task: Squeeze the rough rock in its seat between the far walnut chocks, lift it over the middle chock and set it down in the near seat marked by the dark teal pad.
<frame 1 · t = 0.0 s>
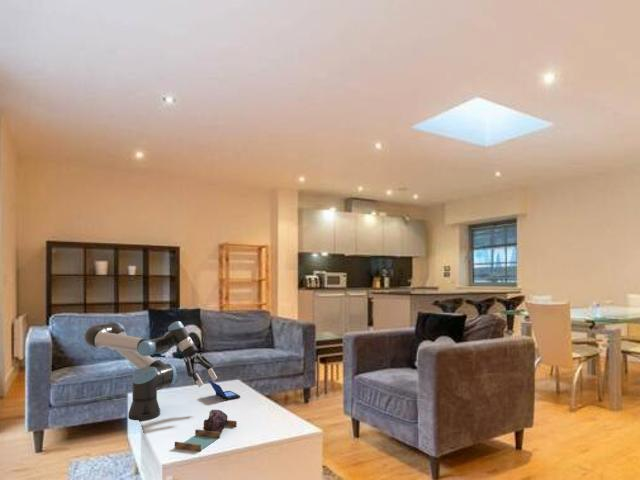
hand: (208, 382, 233), 15 cm above the table, tool tilted 35°, fingers open, 13 cm apart
marked pad: (197, 442, 191), on the table
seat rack: (207, 436, 198), on the table
rock: (216, 431, 206), on the table
handheld game console: (224, 397, 262), on the table
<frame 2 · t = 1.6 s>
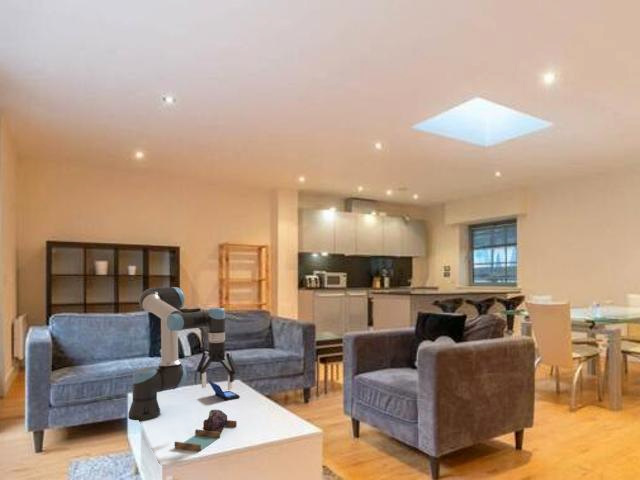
hand: (216, 388, 207), 19 cm above the table, tool pointing down, fingers open, 13 cm apart
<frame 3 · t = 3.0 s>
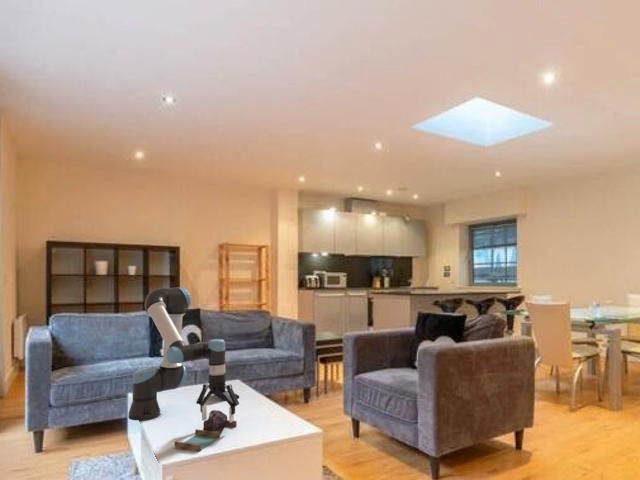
hand: (217, 421, 205), 4 cm above the table, tool pointing down, fingers open, 13 cm apart
rock: (216, 432, 205), on the table, touching gripper
everything else where it was.
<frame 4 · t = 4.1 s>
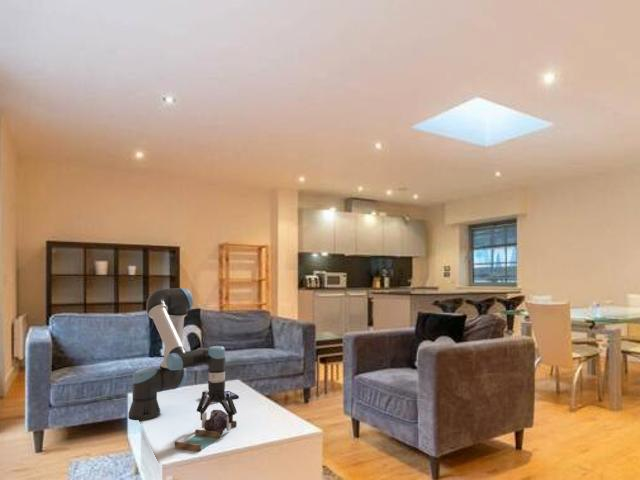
hand: (216, 428, 206), 1 cm above the table, tool pointing down, fingers closed on rock, 12 cm apart
rock: (217, 431, 205), on the table, touching gripper
everything else where it was.
when the fingers open (3 cm above the table, at t = 10.9 s): rock drops 2 cm, resting on marked pad.
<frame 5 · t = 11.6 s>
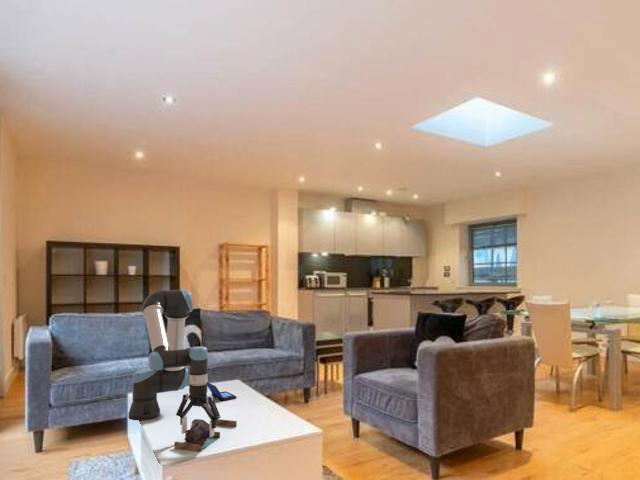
hand: (197, 434, 192), 3 cm above the table, tool pointing down, fingers open, 13 cm apart
rock: (198, 443, 191), resting on marked pad
handheld game console: (220, 398, 260), on the table
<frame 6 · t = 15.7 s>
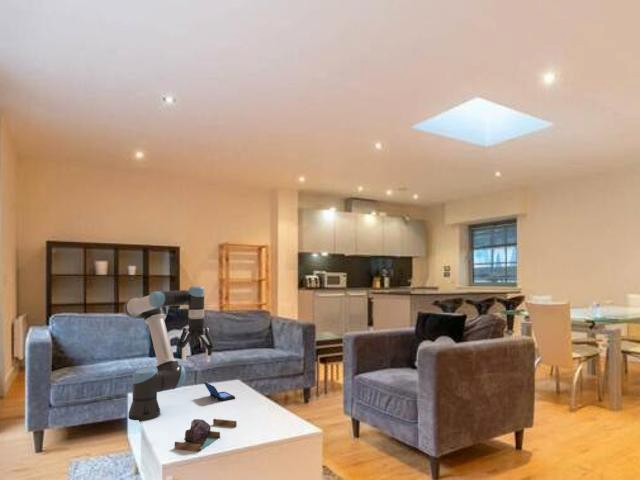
hand: (196, 361, 221), 29 cm above the table, tool pointing down, fingers open, 13 cm apart
at the end: rock inside the target area (0.4 cm from its centre), on the table; the gripper is holding nothing; rock moved 15.2 cm from its start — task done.
